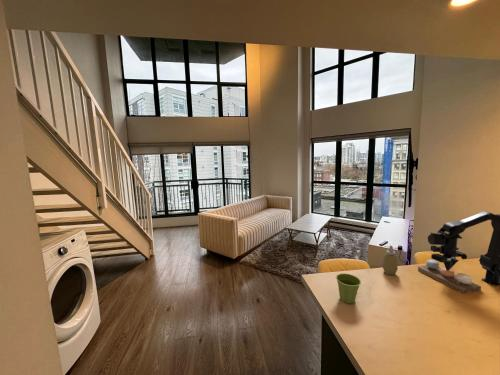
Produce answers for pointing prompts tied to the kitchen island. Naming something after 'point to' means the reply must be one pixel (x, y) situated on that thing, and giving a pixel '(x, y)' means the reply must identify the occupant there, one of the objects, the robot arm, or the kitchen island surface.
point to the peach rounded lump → (447, 272)
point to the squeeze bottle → (390, 262)
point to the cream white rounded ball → (464, 278)
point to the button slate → (432, 264)
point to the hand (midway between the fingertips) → (447, 270)
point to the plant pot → (348, 287)
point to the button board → (449, 280)
